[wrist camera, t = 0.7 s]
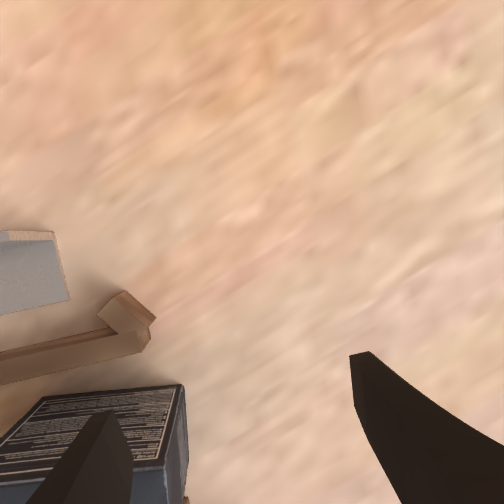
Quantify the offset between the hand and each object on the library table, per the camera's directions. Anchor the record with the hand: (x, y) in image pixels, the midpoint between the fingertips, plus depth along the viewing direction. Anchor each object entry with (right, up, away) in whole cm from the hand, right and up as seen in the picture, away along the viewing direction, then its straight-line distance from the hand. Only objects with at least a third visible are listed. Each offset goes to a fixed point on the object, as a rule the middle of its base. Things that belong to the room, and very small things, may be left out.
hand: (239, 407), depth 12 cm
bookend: (-17, +3, +16) cm, 24 cm away
